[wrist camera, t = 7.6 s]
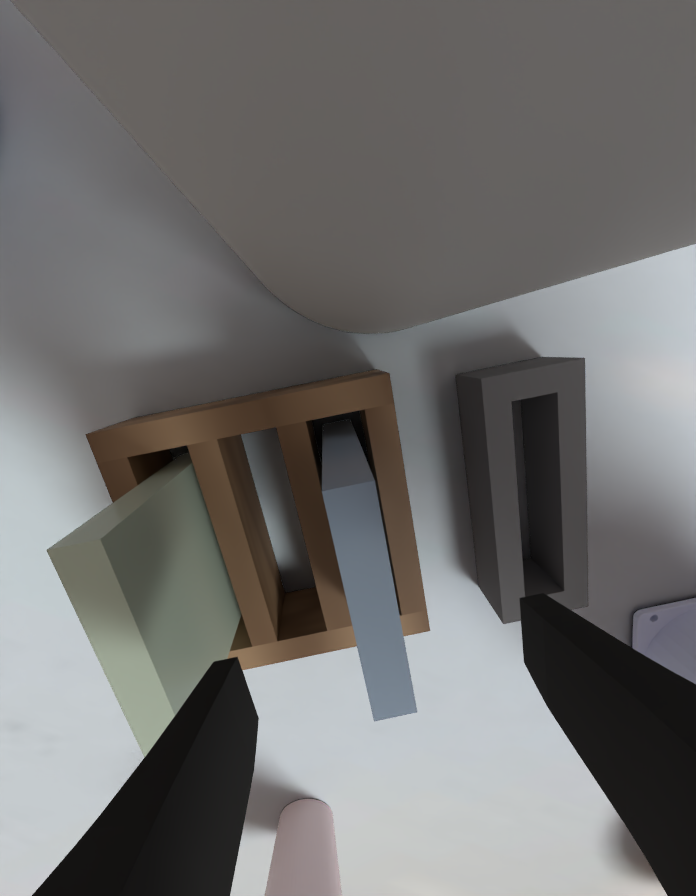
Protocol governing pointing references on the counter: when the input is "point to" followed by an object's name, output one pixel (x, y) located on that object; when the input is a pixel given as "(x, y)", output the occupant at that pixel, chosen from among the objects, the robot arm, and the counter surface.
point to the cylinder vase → (406, 138)
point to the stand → (527, 480)
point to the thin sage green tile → (152, 595)
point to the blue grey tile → (365, 570)
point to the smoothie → (305, 852)
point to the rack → (241, 518)
